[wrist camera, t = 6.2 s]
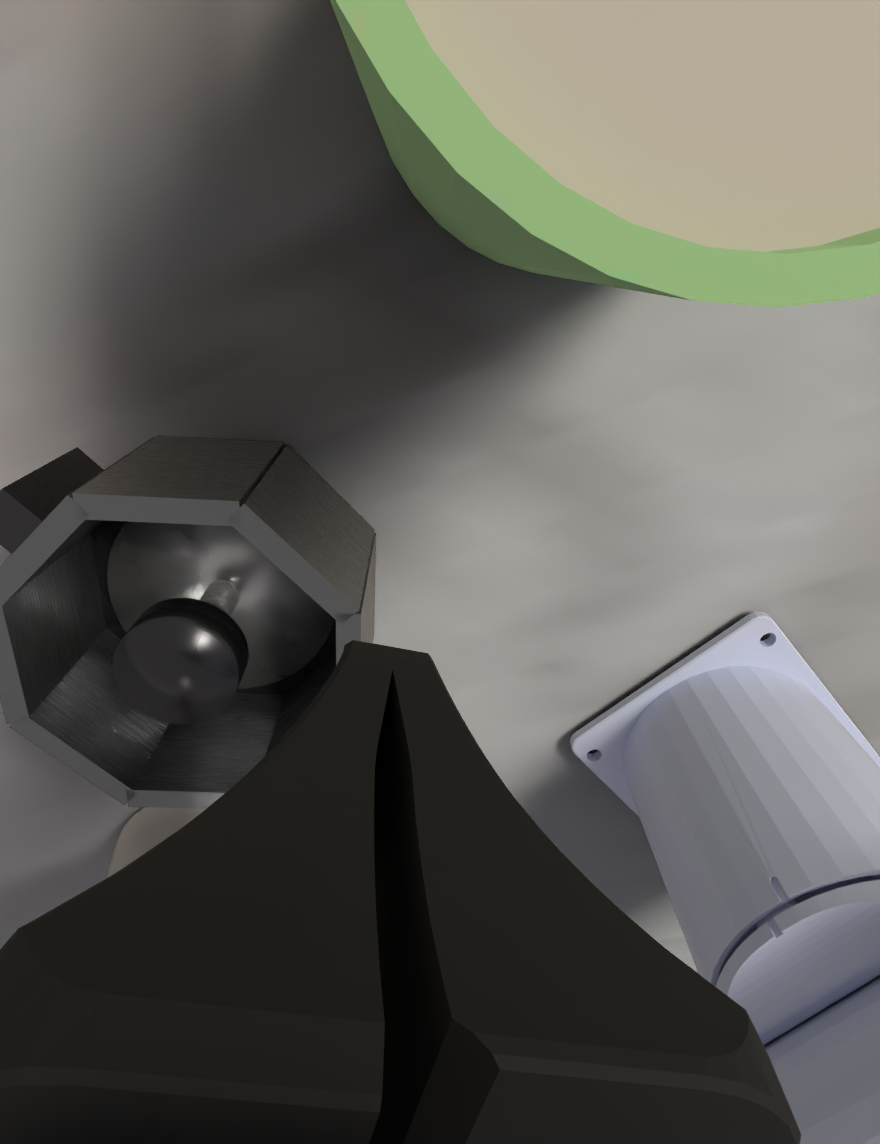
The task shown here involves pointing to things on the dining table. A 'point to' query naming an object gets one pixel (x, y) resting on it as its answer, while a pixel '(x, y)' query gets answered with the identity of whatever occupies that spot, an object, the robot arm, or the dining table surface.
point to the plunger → (203, 619)
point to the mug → (640, 137)
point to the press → (92, 630)
